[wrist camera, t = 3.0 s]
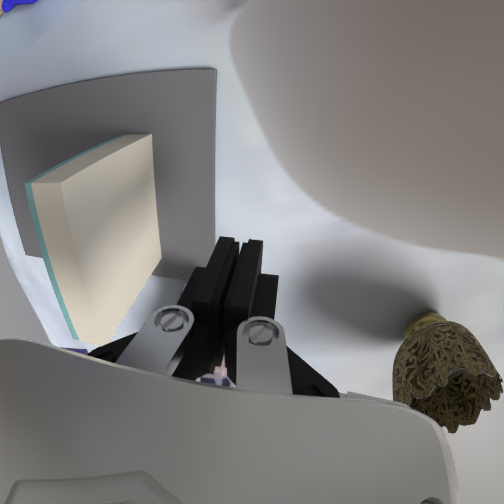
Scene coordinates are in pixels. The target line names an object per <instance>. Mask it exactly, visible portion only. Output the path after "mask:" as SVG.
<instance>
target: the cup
mask: <svg viewBox="0 0 504 504" xmlns="http://www.w3.org/2000/svg"><path fill="white" fill-rule="evenodd" d="M403 341H404V342H403V343H402V344H401V346H400V348H399V350H398V352H397V354H396V357H395V360H394V364H393V401H396V402H401V403H403V404H406V405H408V406H409V407H410V408H411V409H413V410H416V411H419V412H421V413H423V414H425V415H427V416H429V417H430V418H432V419H433V420H434V421H436V422H437V423H438V425H439V426H440V427H443V426H445V427H446V428H447V429H448V433H456V431H457V429H458V426H459V424H461V425H463V426H466V425H471V424H475V423H476V421H477V419H478V416H479V414H480V411H481V409H484V411H490V410H491V403H490V398H491V399H493V400H498V399H499V398H500V391H501V393H503V389H502V385H501V382H502V383H503V380H502V378H501V377H500V375H499V374H498V372H497V370H496V369H495V367H494V365H493V364H492V362H491V360H490V359H489V357H488V355H487V354H486V352H485V351H484V349H483V348H482V346H481V345H480V343H479V342H478V340H477V339H476V338H475V337H474V335H473V334H472V333H471V332H470V331H469V330H468V329H467V328H465V327H464V326H462V325H460V324H458V323H455V322H451V321H447V320H446V319H445V318H444V317H443V316H442V315H440V314H438V313H435V312H427V313H423V314H421V315H418V316H417V317H415V318H414V319H413V320H411V321H410V322H409V324H408V325H407V327H406V329H405V332H404V337H403ZM499 377H500V378H501V379H500V378H499Z"/></svg>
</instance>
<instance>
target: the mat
mask: <svg viewBox="0 0 504 504" xmlns="http://www.w3.org/2000/svg"><path fill="white" fill-rule="evenodd" d="M216 85H217V69H195V70H174V71H159V72H148V73H138V74H129V75H121V76H114V77H107V78H100V79H94V80H88V81H83V82H78V83H73V84H68V85H63V86H58V87H54V88H50V89H46V90H42V91H38V92H34V93H30V94H26V95H23V96H19V97H16V98H12V99H9V100H6V101H3V102H0V145H1V152H2V158H3V164H4V170H5V175H6V180H7V185H8V190H9V195H10V199H11V203H12V208H13V212H14V216H15V219H16V223H17V227H18V230H19V234H20V237H21V241H22V244H23V247H24V251H25V254H26V255H29V256H35V257H40V258H43V256H42V253H41V249H40V246H39V243H38V239H37V235H36V232H35V228H34V224H33V220H32V216H31V212H30V208H29V203H28V199H27V194H26V189H25V184H24V183H26V182H28V181H29V180H31V179H33V178H34V177H36V176H38V175H40V174H42V173H43V172H45V171H47V170H49V169H51V168H53V167H54V166H56V165H58V164H60V163H62V162H64V161H66V160H68V159H70V158H72V157H74V156H76V155H78V154H80V153H82V152H84V151H86V150H88V149H90V148H92V147H95V146H97V145H99V144H101V143H103V142H106V141H108V140H110V139H112V138H115V137H117V136H119V135H128V134H152V148H153V167H154V182H155V195H156V207H157V218H158V228H159V238H160V247H161V255H162V258H161V260H160V261H159V263H158V265H157V266H156V268H155V269H154V271H153V272H152V274H151V275H155V276H162V277H169V278H177V279H184V280H189V279H190V276H191V274H192V272H193V270H194V269H195V267H196V266H199V267H206V266H207V264H208V262H209V259H210V257H211V255H212V253H213V251H214V248H215V126H216Z"/></svg>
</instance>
